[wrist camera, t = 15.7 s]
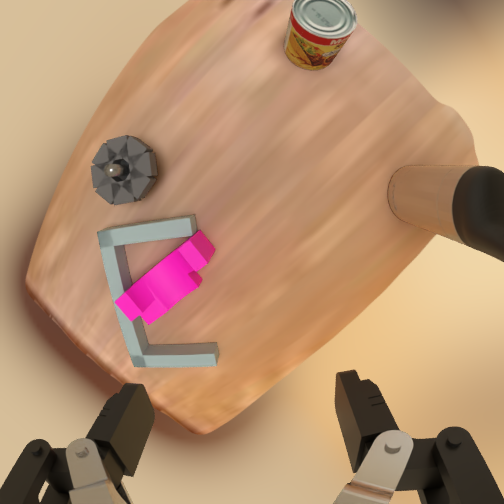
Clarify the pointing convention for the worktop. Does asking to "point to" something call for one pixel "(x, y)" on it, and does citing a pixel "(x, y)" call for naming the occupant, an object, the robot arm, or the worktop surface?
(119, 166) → the axle hub
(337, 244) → the worktop surface
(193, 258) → the toy block
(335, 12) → the canned food
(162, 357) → the grey u-shaped bracket
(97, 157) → the wheel
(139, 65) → the worktop surface
